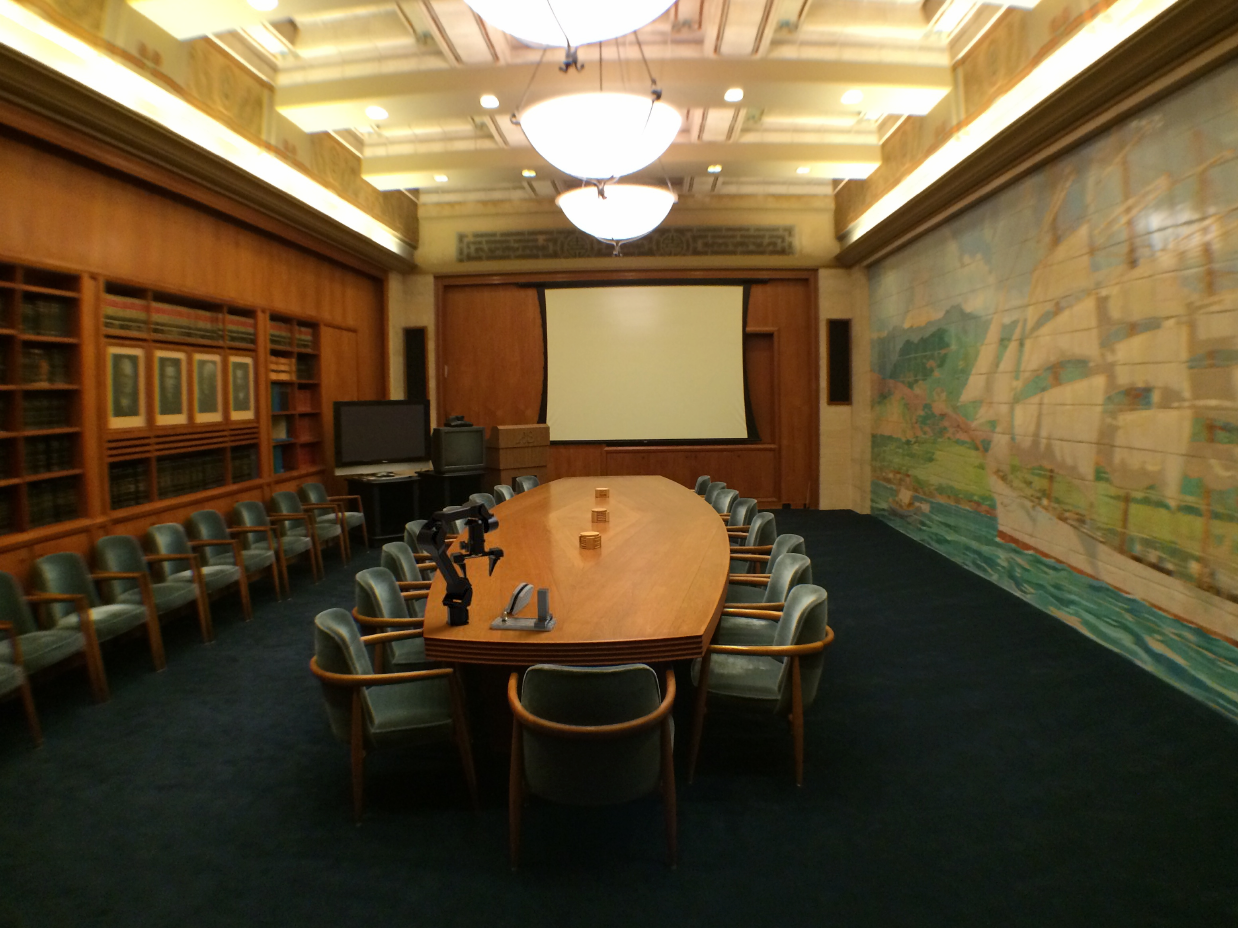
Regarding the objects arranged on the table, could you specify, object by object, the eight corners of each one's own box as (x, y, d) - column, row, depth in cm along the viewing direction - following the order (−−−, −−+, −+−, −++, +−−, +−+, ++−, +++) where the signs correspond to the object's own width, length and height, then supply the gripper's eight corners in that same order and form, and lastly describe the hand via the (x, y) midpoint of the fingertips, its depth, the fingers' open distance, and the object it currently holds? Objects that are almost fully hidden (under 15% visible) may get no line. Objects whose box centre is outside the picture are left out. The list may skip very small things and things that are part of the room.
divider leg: (534, 628, 233) (533, 593, 232) (541, 618, 244) (540, 585, 242) (545, 628, 233) (544, 594, 232) (552, 618, 243) (552, 585, 242)
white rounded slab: (517, 600, 268) (525, 576, 267) (528, 604, 268) (536, 581, 266) (501, 613, 252) (509, 589, 251) (513, 618, 252) (521, 594, 250)
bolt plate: (491, 628, 237) (490, 615, 236) (498, 620, 245) (497, 608, 244) (550, 630, 234) (550, 617, 233) (556, 622, 242) (556, 610, 241)
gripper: (493, 529, 262) (494, 569, 264) (444, 535, 253) (446, 576, 255) (503, 534, 253) (505, 576, 254) (453, 540, 243) (454, 584, 245)
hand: (477, 578), depth 252 cm, fingers open, 9 cm apart
